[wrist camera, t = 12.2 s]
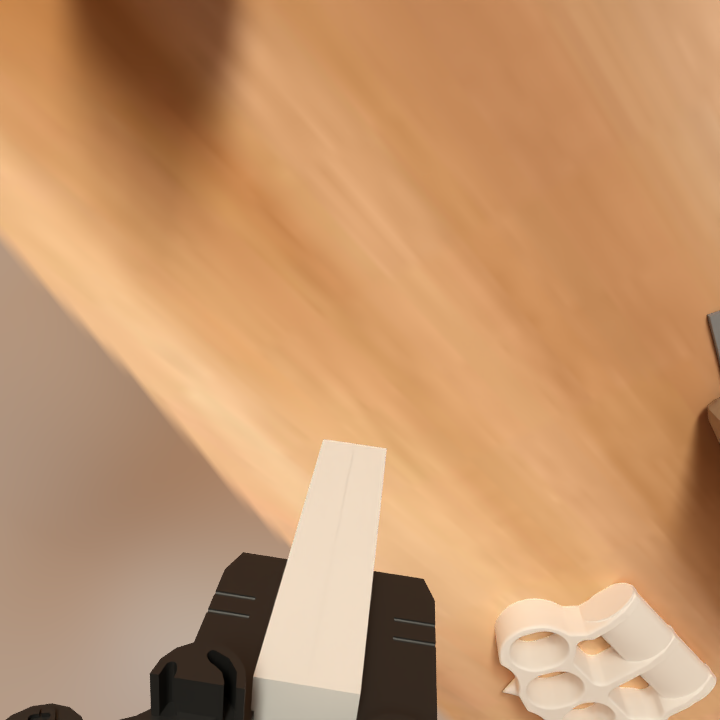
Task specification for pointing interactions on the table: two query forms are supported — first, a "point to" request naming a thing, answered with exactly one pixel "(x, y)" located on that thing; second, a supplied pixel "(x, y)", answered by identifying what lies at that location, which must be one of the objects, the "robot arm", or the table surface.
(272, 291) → the table surface
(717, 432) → the wooden block
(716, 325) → the rubber mat
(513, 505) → the table surface
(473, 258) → the table surface
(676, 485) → the table surface
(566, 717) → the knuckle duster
